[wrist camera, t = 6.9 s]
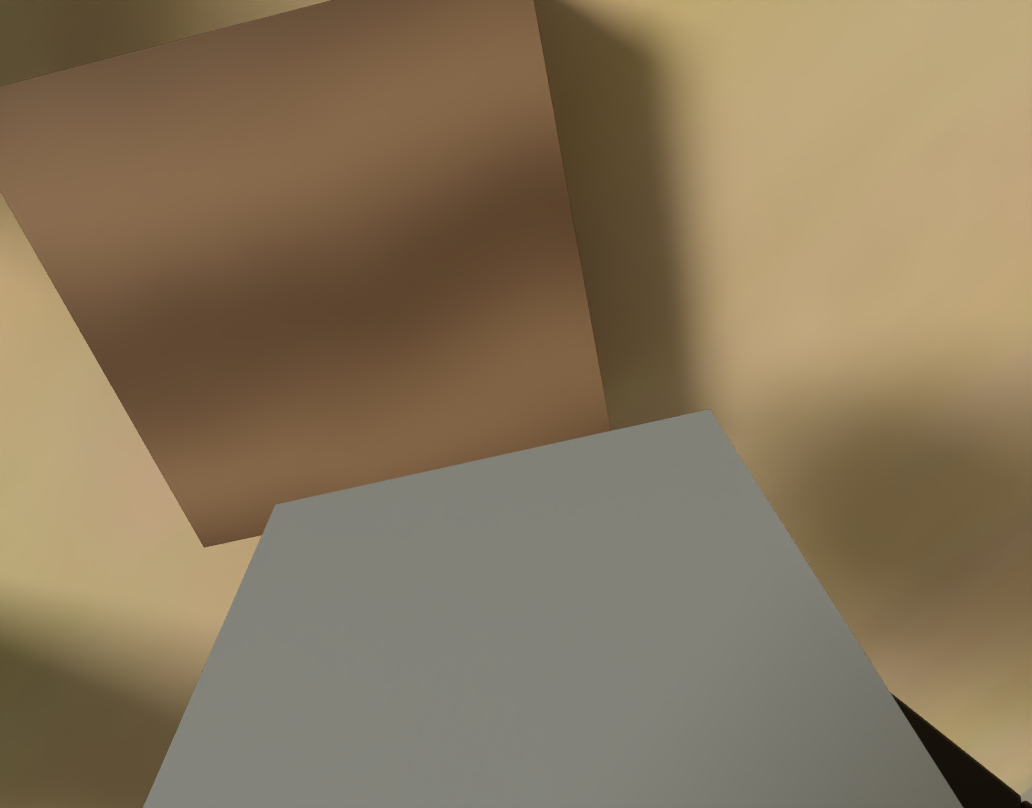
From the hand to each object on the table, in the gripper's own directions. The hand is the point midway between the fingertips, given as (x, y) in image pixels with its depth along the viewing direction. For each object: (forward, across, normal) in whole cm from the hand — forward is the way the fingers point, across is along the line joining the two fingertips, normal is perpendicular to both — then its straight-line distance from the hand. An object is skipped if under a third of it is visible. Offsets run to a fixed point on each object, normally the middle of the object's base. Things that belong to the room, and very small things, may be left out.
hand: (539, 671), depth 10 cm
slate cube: (+1, 0, 0) cm, 1 cm away
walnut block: (+12, +3, -4) cm, 13 cm away
